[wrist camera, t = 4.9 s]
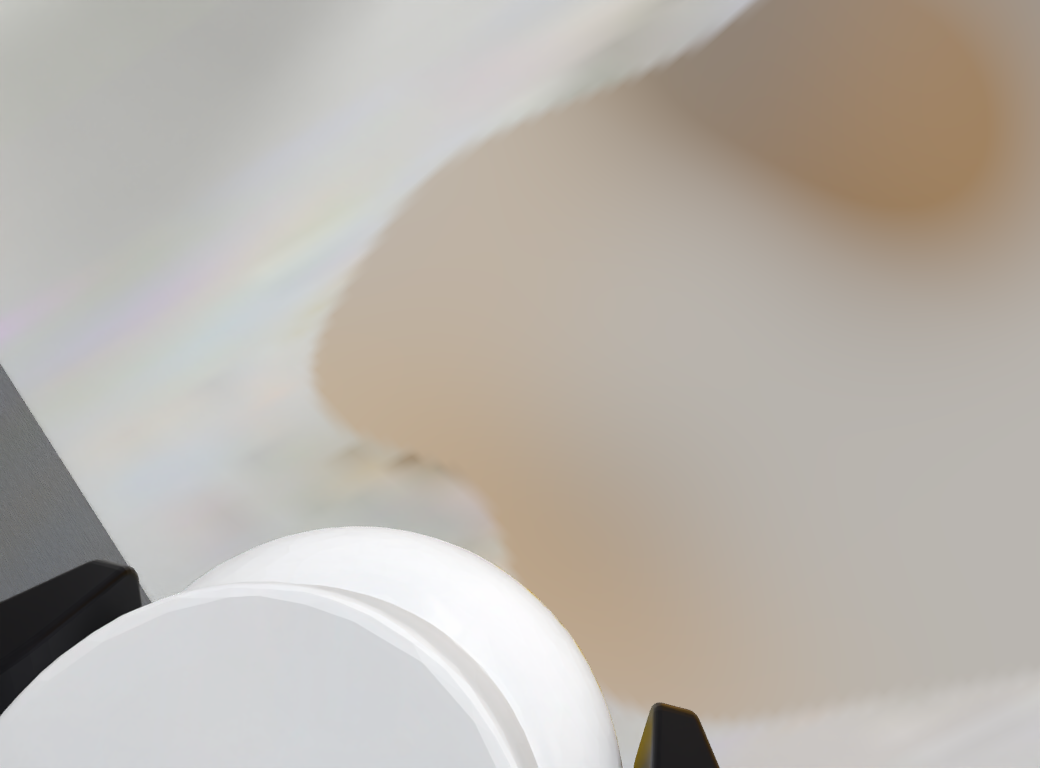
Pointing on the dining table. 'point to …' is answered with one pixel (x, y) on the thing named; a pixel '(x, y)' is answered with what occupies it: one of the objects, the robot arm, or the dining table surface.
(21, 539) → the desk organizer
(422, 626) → the supplement bottle
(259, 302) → the dining table surface
